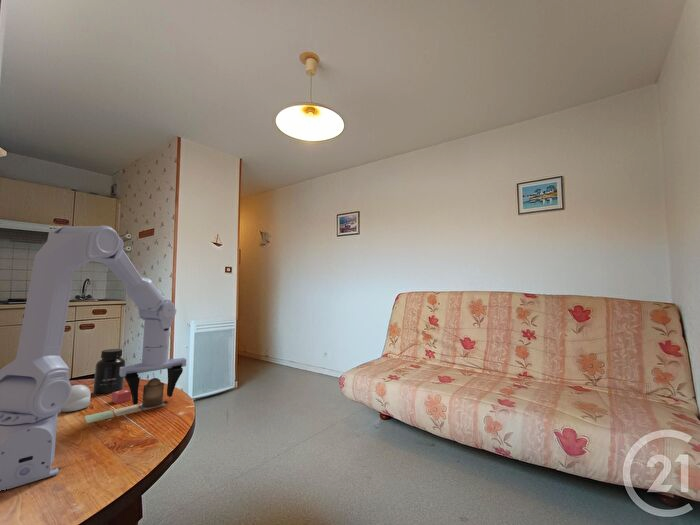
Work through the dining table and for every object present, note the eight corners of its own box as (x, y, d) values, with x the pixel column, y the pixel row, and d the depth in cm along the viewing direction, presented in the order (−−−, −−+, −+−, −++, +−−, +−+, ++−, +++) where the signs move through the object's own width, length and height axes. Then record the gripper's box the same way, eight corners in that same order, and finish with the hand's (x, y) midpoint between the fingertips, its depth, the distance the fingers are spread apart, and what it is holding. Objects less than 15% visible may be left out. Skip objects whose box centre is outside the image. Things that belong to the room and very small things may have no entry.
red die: (130, 403, 82) (130, 391, 82) (117, 406, 79) (117, 394, 79) (124, 400, 83) (125, 388, 83) (111, 404, 81) (112, 392, 81)
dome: (91, 408, 76) (92, 385, 76) (59, 415, 72) (61, 390, 72) (88, 402, 80) (90, 380, 80) (58, 408, 76) (60, 384, 76)
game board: (170, 410, 77) (170, 407, 77) (86, 431, 66) (87, 428, 66) (158, 398, 85) (158, 396, 85) (81, 415, 74) (81, 412, 74)
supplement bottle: (103, 398, 85) (107, 353, 85) (87, 395, 87) (90, 351, 88) (129, 390, 91) (131, 348, 92) (112, 387, 93) (115, 346, 94)
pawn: (164, 404, 79) (166, 378, 80) (143, 409, 76) (146, 381, 77) (160, 399, 83) (162, 374, 83) (140, 403, 80) (142, 377, 80)
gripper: (181, 340, 88) (178, 388, 87) (118, 346, 78) (114, 402, 77) (190, 343, 83) (187, 395, 83) (124, 351, 73) (120, 410, 72)
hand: (152, 399), depth 80 cm, fingers open, 7 cm apart
